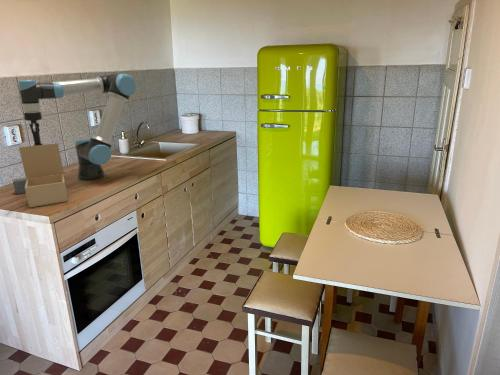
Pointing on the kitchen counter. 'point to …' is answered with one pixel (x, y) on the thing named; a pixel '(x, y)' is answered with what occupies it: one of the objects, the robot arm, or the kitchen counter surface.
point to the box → (46, 190)
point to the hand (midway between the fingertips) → (40, 158)
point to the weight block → (20, 185)
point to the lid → (41, 160)
